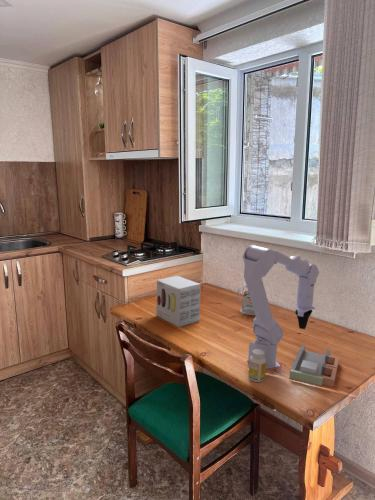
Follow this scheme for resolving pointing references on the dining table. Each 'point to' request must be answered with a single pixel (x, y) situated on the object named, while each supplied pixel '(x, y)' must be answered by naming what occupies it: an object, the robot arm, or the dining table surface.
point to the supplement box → (178, 300)
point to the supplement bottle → (257, 365)
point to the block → (309, 367)
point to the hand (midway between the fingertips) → (302, 328)
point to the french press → (246, 307)
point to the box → (322, 368)
